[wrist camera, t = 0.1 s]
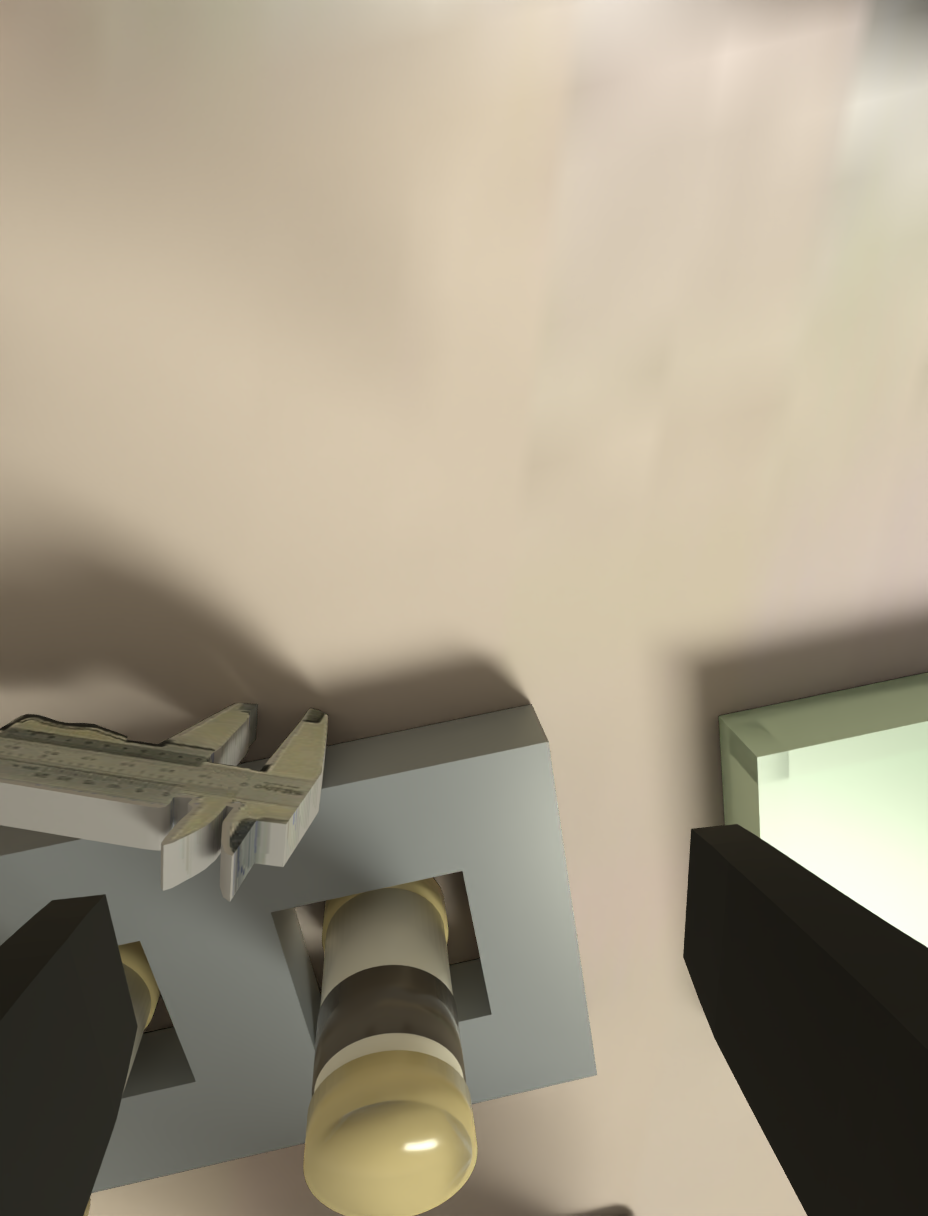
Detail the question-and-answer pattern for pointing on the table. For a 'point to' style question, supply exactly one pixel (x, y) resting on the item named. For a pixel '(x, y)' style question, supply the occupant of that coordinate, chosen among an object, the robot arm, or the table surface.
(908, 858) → the parts tray
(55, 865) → the fuse block
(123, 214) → the table surface
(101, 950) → the robot arm
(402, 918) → the banded cream cylinder
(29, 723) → the caliper
